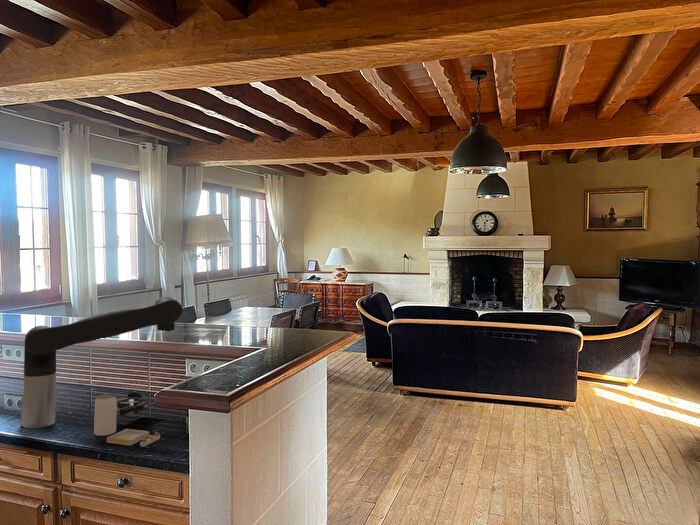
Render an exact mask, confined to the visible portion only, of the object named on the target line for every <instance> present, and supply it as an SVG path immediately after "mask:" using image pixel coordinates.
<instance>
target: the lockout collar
mask: <svg viewBox="0 0 700 525" xmlns="http://www.w3.org/2000/svg"><path fill="white" fill-rule="evenodd" d="M149 435H150V431H148V430H140V429H138V430H137V429H131V428H125V429H122V430H121V431H119V432H115V433H114V434H112V435H108V436H106V443H108V444H116V445H117V444H118V445H124V446H133V445H134V444H136V443H140V442H142V439H143V438H147V439H148V438H149Z"/></svg>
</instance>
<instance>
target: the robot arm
mask: <svg viewBox="0 0 700 525" xmlns="http://www.w3.org/2000/svg"><path fill="white" fill-rule="evenodd" d="M183 310H184V309H183V306H182V305H181V303H180V302H179V301H178V300H177V299H174V298H173V297H169V296H162V297H160V298H158V299H157V300H156V301H155V303H154V304H152V305H148V306H145V307H138V308H122V309H119V308H118V309H114V310H108V311H103V312H100V313H96V314H93V315H89V316H88V317H85V318H82V319H80V320H77V321H74V322H72V323H68V324H63V325H58V326H56V325H55V326H50V327H49V326H46V325H38V326H33V327H32V328H30V330H28V331H27V333H26V335H25V337H24V352H23V354H24V357H23V358H24V360H23V361H24V362H23V396H22V397H21V398H20V426H21V427H22V428H23V429H30V430H31V429H35V430H36V429H41V428H47V427H51V426H53V425H54V424H55V423H56V393H57V391H56V390H57V387H56V384H57V351H59V350H61V349H64V348H67V347H70V346H73V345H78V344H82V343H83V344H84V343H90V342H94V340H95V341H97V340H96V339H100V338H104V339H108V338H107V337H109V338H112V337H115V336H119V335H120V336H121V335H123V334H126V333H131V332H134V331H137V330H140V329H143V328H147V327H152V326H156V327H157V331H158V330H162V331H163V330H165V331H171V330H175V323H176V321H178V320H179V319H180V318H181V316H182V315H183ZM175 331H176V330H175ZM100 340H101V339H100ZM127 395H128V397H139V398H140V397H142V396H141V395H140V393H138V392H136V391H135V390H133V392H132V391H131V392H129V393H128V394H127ZM116 399H117V412H119V416H123V417H124V416H125V415H128V414H134V413H133V412H135V414H139V413H141V412H143V411H146V410H147V409H149V408H148V401H145V402H142V401H141V400H139V399H138V400H137V399H134V398H132V399H131V398H126V397H123V398H119V399H118V397H116Z"/></svg>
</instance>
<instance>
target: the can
mask: <svg viewBox="0 0 700 525" xmlns="http://www.w3.org/2000/svg"><path fill="white" fill-rule="evenodd" d="M116 398H117V397H116V394H113V393H104V394H99V395H97V396H96V398H95V400H94V410H93V411H94V412H93V413H94V414H93V415H94V418H93V419H94V420H93V426H94V428H93V434H94V435H95V436H97V437H109V436H111V435H114V434H116V433H117V416H118V415H117V412H118V411H117V408H118V404H117V400H118V398H117V399H116Z"/></svg>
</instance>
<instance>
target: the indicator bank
mask: <svg viewBox="0 0 700 525" xmlns="http://www.w3.org/2000/svg"><path fill="white" fill-rule="evenodd" d="M160 439H161V434H160V432H158V431H156V432H154V435H153V434H149V437H147V438H143V439H142V440H141V441H139V446H140V447H143V448H144V447H147V446H148V445H151V444H152V443H154V442H156V441H158V440H160Z"/></svg>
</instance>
